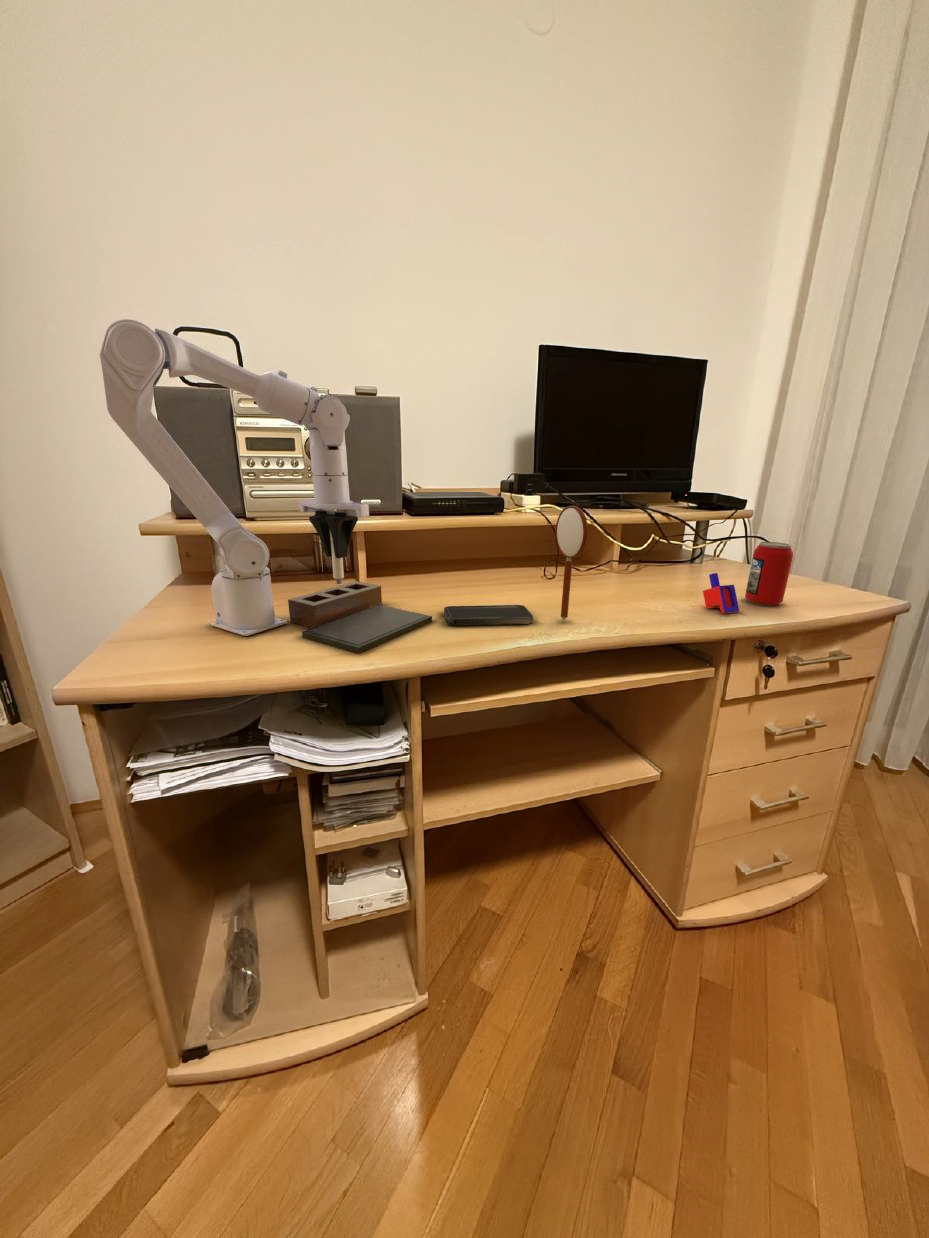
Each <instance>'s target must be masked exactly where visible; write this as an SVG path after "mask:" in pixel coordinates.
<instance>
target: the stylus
mask: <svg viewBox="0 0 929 1238" xmlns="http://www.w3.org/2000/svg"><path fill="white" fill-rule="evenodd" d="M330 541H331V553H332V556H331V563H332V565H331V566H332V577H333V579H335V583H336V584H337V585H342V584H343V579H344V578H345V572H344V557H342V558H336V556H335V553H334V546H333V539H332V535H331V532H330Z"/></svg>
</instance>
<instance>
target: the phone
mask: <svg viewBox="0 0 929 1238" xmlns="http://www.w3.org/2000/svg"><path fill="white" fill-rule="evenodd" d="M443 615H444V620H445V623H446V625H448V626H494V625H530V624H533V621H534V620H533V619H534V616H533V614H532V612H530V611H529V610H528V608H527V607H526V606H525V605H522V604H499V605H498V604H496V605H495V604H493V605H491V604H490V605H448V606H444V607H443Z"/></svg>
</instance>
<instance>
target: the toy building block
mask: <svg viewBox="0 0 929 1238" xmlns="http://www.w3.org/2000/svg"><path fill="white" fill-rule="evenodd" d="M708 577H709V583H710V587H711V588H708V589H703V590H702V594H703V599H704V600H703V601H704V605H705V608H706V609H711V608H712V609H713V608H719V610H720V614H721V615H723V614H734V613H739V612H740V607H739V602H738V599H737V598H738V597H737V591H736V587H735V584H725V585H724V584H723V585H721V583H720V577H719V574H718V573H717V572H714V573H709V574H708Z"/></svg>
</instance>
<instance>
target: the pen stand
mask: <svg viewBox="0 0 929 1238" xmlns="http://www.w3.org/2000/svg"><path fill="white" fill-rule="evenodd" d="M382 597H383V596H382V585H378V584H374V583H368V582H364V581H357V580H355V581H352V582H347V583H344V584H339V585H337V586H332V587H329V588H325V589H322V590H318V591H315V592H311V593H307V594H303V595H300V596H295V597H292V598H289V599H287V604H288V605H287V606H288V614H289V622H290V623H292V624H296V625H300V626H303V627H307V628H310V629H311V628H314V627H317V626H320V625H322V624H325V623H328V622H331V621H334V620H337V619H340V618H343V617H346V616H349V615H352V614H354V613H357V612H360V611H363V610H366V609H369V608H372V607H375V606H378V605H383V598H382Z"/></svg>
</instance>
